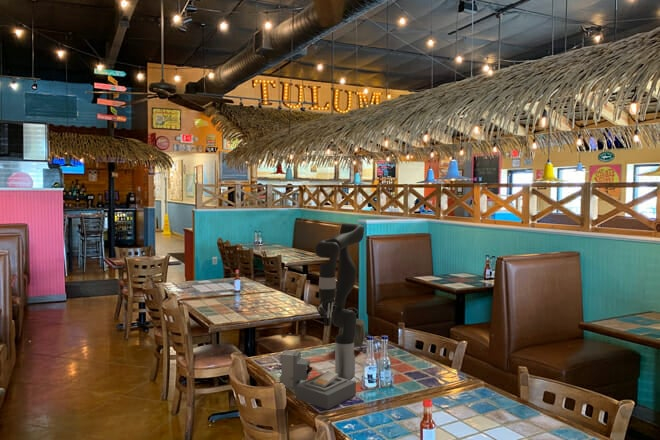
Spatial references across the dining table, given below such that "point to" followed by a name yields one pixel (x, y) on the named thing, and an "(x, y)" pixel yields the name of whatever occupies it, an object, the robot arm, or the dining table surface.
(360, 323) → the tabletop clock
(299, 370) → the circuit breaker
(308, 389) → the box
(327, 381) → the breaker rocker
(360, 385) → the dining table surface
